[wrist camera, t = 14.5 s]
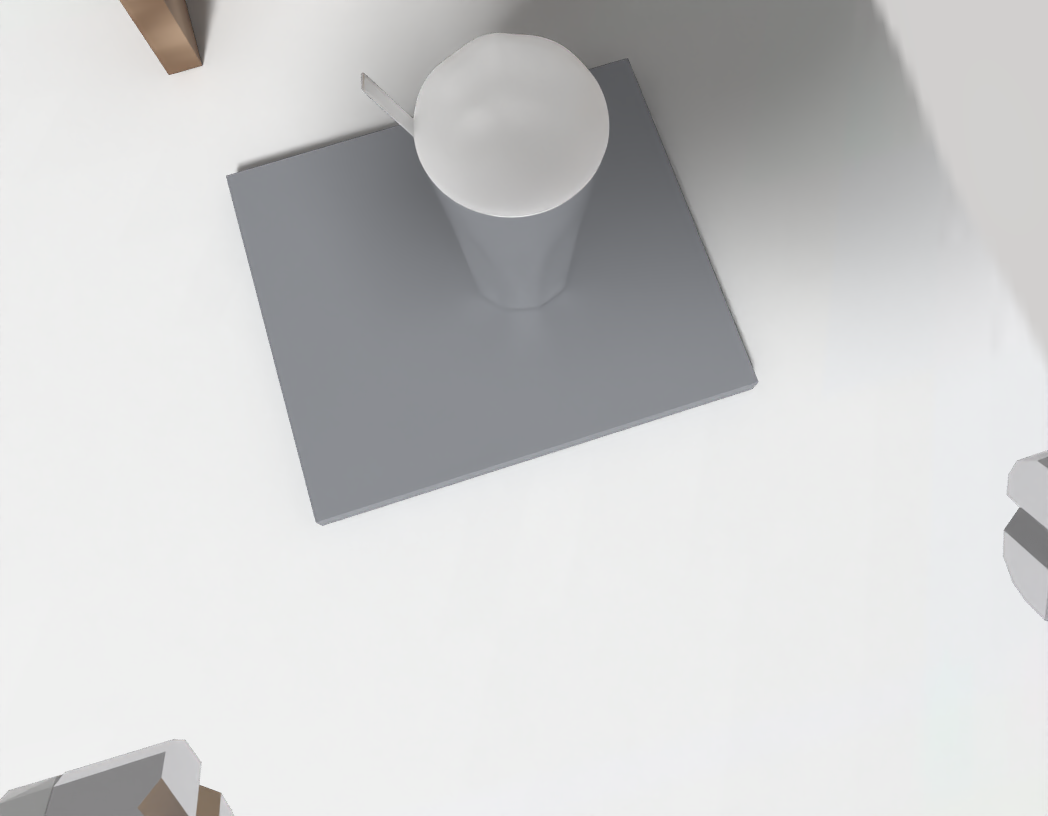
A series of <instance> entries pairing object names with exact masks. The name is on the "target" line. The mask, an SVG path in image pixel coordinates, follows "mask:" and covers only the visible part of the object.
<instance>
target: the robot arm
mask: <svg viewBox="0 0 1048 816" xmlns="http://www.w3.org/2000/svg"><path fill="white" fill-rule="evenodd" d="M1007 496H1008V497H1009V498H1010V499H1011V500H1012V501H1013V502H1014V503H1015V504H1016V505H1017V506H1019V507H1020V508H1019V509H1018V510H1017V512H1016V513H1015V515H1014V516H1013V518H1012V519H1011V521H1010V522H1009V523H1008V525H1007V526H1006V528H1005V529H1004V543H1003V557H1004V560H1005V563H1006V566H1007V568H1008V571H1009V574H1010V577H1011V579H1012V582H1013V584H1014V585H1015V587H1016V588H1017V590H1018V591H1019V592H1020V594H1021V595H1022V597H1023V598H1024V600H1025V601H1026V602H1027V603H1028V604H1029V605H1030V606H1031V607H1032V608H1033V609H1034V610H1035V611H1036V612H1037V613H1038V614H1039V615H1040V616H1041V617H1042V618H1043V619H1044V620H1046V621H1048V450H1047V451H1044V452H1041V453H1038V454H1035V455H1032V456H1029V457H1026V458H1023V459H1020V460H1017V461H1016V463H1015V465H1014V466H1013V468H1012V469H1011V471H1010V473H1009V475H1008V486H1007ZM200 772H201V761H200V760H199V758H198V757H197V756H196V754H195V753H194V751H193V750H192V749H191V747H190V746H189V744H188V743H187V742H186V740H178V739H173V740H170V741H166V742H163V743H160V744H156V745H153V746H150V747H146V748H143V749H140V750H137V751H133V752H130V753H127V754H123V755H120V756H117V757H114V758H110V759H107V760H104V761H100V762H97V763H94V764H90V765H87V766H84V767H81V768H77V769H74V770H71V771H67V772H65V773H64V774H62V775H59V776H55V777H52V778H49V779H45V780H42V781H39V782H35V783H32V784H29V785H25V786H22V787H19V788H15V789H12V790H9V791H8V792H7V793H6V794H5V795H4V796H3V797H2V798H1V799H0V816H234V815H233V812H232V810H231V808H230V806H229V805H228V803H227V802H226V800H225V798H224V797H223V795H222V794H221V793H220V792H217V791H215V790H212V789H209V788H207V787H204V786H201V785H199V781H200Z"/></svg>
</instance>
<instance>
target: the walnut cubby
mask: <svg viewBox="0 0 1048 816" xmlns="http://www.w3.org/2000/svg"><path fill="white" fill-rule="evenodd" d="M120 2H121V3H122V5H123V6H124V8H125V9H126V11H127V12H128V14H129V15H130V17H131V18H132V20H133V21H134V23H135V24H136V26H137V27H138V29H139V30H140V32H141V33H142V35H143V36H144V38H145V40H146V41H147V43H148V44H149V46H150V47H151V49H152V50H153V52H154V53H155V55H156V56H157V58H158V59H159V61H160V62H161V64H162V65H163V67H164V68H165V70H166V71H167V73H168V74H169V75H171V74H174V73H178V72H181V71H185V70H188V69H192V68H195V67H199V66H202V63H201V59H200V55H199V51H198V47H197V43H196V40H195V36H194V32H193V28H192V24H191V20H190V17H189V13H188V9H187V5H186V1H185V0H120Z"/></svg>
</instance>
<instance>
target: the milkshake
mask: <svg viewBox="0 0 1048 816" xmlns="http://www.w3.org/2000/svg"><path fill="white" fill-rule="evenodd" d="M361 87H362V91H363V92H364V93H365V94H366V95H367V96H368V97H369V98H370V99H372V100H373V101H374V102H375V103H376V104H377V105H378V106H379V107H380V108H382V109H383V110H384V111H385V112H386V113H387V114H388V115H389V116H390V117H392V118H393V119H394V120H395V121H396V122H397V123H398V124H399V125H400V126H402V127H403V128H404V129H405V130H406V131H407V132H408V133H409V134H410V135H412V136H413V137H414V142H415V147H416V151H417V154H418V157H419V160H420V162H421V164H422V166H423V168H424V170H425V172H426V174H427V177H428V179H429V181H430V183H431V185H432V187H433V189H434V191H435V194H436V196H437V198H438V200H439V202H440V204H441V206H442V208H443V210H444V212H445V214H446V216H447V218H448V220H449V222H450V224H451V226H452V227H453V230H454V232H455V234H456V237H457V239H458V242H459V245H460V247H461V250H462V252H463V255H464V258H465V260H466V263H467V265H468V268H469V270H470V272H471V275H472V277H473V280H474V283H475V285H476V288H477V290H478V293H479V294H480V295H481V296H483V297H485V298H486V299H488V300H490V301H491V302H493V303H495V304H496V305H498V306H500V307H501V308H503V309H505V310H506V311H508V310H524V309H539V308H540V307H542V306H543V305H544V304H545V303H547V302H548V301H549V300H550V299H552V298H553V297H554V296H556V295H557V294H558V293H560V292H561V291H562V290H563V289H564V287H565V284H566V280H567V276H568V272H569V269H570V265H571V261H572V258H573V254H574V250H575V246H576V242H577V238H578V234H579V230H580V226H581V222H582V218H583V215H584V213H585V210H586V207H587V205H588V202H589V199H590V197H591V194H592V191H593V188H594V184H595V181H596V178H597V175H598V172H599V169H600V166H601V163H602V160H603V157H604V154H605V151H606V148H607V144H608V138H609V115H608V109H607V105H606V101H605V98H604V95H603V92H602V90H601V88H600V86H599V84H598V82H597V81H596V79H595V78H594V76H593V75H592V74H591V72H590V71H589V70H588V69H587V68H586V66H585V65H584V64H583V63H582V62H581V61H580V60H579V59H578V58H577V57H576V56H575V55H574V54H573V53H572V52H570V51H569V50H568V49H567V48H565V47H564V46H562V45H561V44H559V43H557V42H555V41H553V40H550V39H547V38H544V37H540V36H535V35H525V34H508V33H490V34H486V35H482V36H480V37H477V38H475V39H473V40H472V41H470V42H468V43H467V44H466V45H464V46H463V47H461V48H460V49H459V50H457V51H456V52H455V53H454V54H452V55H451V56H449V57H448V58H447V59H445V60H444V61H443V62H441V63H440V64H439V65H438V66H437V67H435V68H434V69H433V71H432V72H431V73H430V74H429V75H428V77H427V78H426V80H425V82H424V83H423V85H422V87H421V90H420V92H419V95H418V98H417V102H416V106H415V111H414V119H413V118H412V117H411V116H410V115H409V114H408V113H407V112H406V111H404V110H403V109H402V108H401V107H400V106H399V105H398V104H397V103H396V102H395V101H394V100H393V99H392V98H391V97H389V96H388V95H387V94H386V93H385V92H384V91H383V90H382V89H381V88H380V87H379V86H378V85H377V84H376V83H374V82H373V81H372V80H371V79H370V78H369V77H368V76H367V75H366V74H365V73H362V74H361Z"/></svg>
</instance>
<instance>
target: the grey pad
mask: <svg viewBox="0 0 1048 816" xmlns="http://www.w3.org/2000/svg"><path fill="white" fill-rule="evenodd" d="M589 71H590V72H591V74H592V75H593V76H594V78H595V79H596V81H597V82H598V84H599V86H600V88H601V90H602V92H603V95H604V98H605V101H606V105H607V109H608V115H609V138H608V144H607V148H606V151H605V154H604V157H603V160H602V163H601V166H600V169H599V172H598V175H597V178H596V181H595V184H594V188H593V191H592V194H591V197H590V199H589V202H588V205H587V207H586V210H585V213H584V215H583V218H582V222H581V226H580V230H579V234H578V238H577V242H576V246H575V250H574V254H573V258H572V261H571V265H570V269H569V272H568V276H567V280H566V284H565V287H564V289H563V290H562V291H561V292H560V293H558V294H557V295H556V296H554V297H553V298H552V299H550V300H549V301H548V302H547V303H545V304H544V305H543V306H542V307H540V308H539V309H524V310H508V311H506V310H505V309H503V308H501V307H500V306H498V305H496V304H495V303H493V302H491V301H490V300H488V299H486V298H485V297H483V296H481V295H480V294H479V293H478V290H477V288H476V285H475V283H474V280H473V277H472V275H471V272H470V270H469V268H468V265H467V263H466V260H465V258H464V255H463V252H462V250H461V247H460V245H459V242H458V239H457V237H456V234H455V232H454V230H453V227H452V226H451V224H450V222H449V220H448V218H447V216H446V214H445V212H444V210H443V208H442V206H441V204H440V202H439V200H438V198H437V196H436V194H435V191H434V189H433V187H432V185H431V183H430V181H429V179H428V177H427V174H426V172H425V170H424V168H423V166H422V164H421V162H420V160H419V157H418V154H417V151H416V147H415V142H414V137H413V136H412V135H410V134H409V133H408V132H407V131H406V130H405V129H404V128H403V127H402V126H400V125H398V126H394V127H391V128H387V129H384V130H381V131H377V132H374V133H370V134H367V135H364V136H360V137H357V138H353V139H350V140H346V141H343V142H340V143H336V144H333V145H329V146H326V147H323V148H319V149H316V150H312V151H309V152H306V153H302V154H299V155H295V156H292V157H288V158H285V159H282V160H278V161H275V162H271V163H268V164H265V165H261V166H258V167H254V168H251V169H247V170H244V171H241V172H237V173H234V174H230V175H227V176H226V178H227V181H228V185H229V189H230V193H231V197H232V201H233V205H234V208H235V212H236V216H237V220H238V224H239V228H240V232H241V235H242V239H243V243H244V247H245V251H246V255H247V259H248V262H249V266H250V270H251V274H252V278H253V282H254V286H255V289H256V293H257V297H258V301H259V305H260V309H261V313H262V316H263V320H264V324H265V328H266V332H267V336H268V340H269V343H270V347H271V351H272V355H273V359H274V363H275V366H276V370H277V374H278V378H279V382H280V386H281V390H282V393H283V397H284V401H285V405H286V409H287V413H288V417H289V420H290V424H291V428H292V432H293V436H294V440H295V444H296V447H297V451H298V455H299V459H300V463H301V467H302V471H303V474H304V478H305V482H306V486H307V490H308V494H309V498H310V501H311V505H312V509H313V513H314V517H315V521H316V523H318V524H320V525H322V526H323V525H326V524H329V523H332V522H335V521H339V520H342V519H345V518H348V517H351V516H354V515H357V514H361V513H364V512H367V511H370V510H373V509H376V508H379V507H383V506H386V505H389V504H392V503H395V502H398V501H401V500H405V499H408V498H411V497H414V496H417V495H420V494H423V493H427V492H430V491H433V490H436V489H439V488H442V487H445V486H449V485H452V484H455V483H458V482H461V481H464V480H468V479H471V478H474V477H477V476H480V475H483V474H486V473H490V472H493V471H496V470H499V469H502V468H505V467H508V466H512V465H515V464H518V463H521V462H524V461H527V460H530V459H534V458H537V457H540V456H543V455H546V454H549V453H552V452H556V451H559V450H562V449H565V448H568V447H571V446H574V445H578V444H581V443H584V442H587V441H590V440H593V439H596V438H600V437H603V436H606V435H609V434H612V433H615V432H618V431H622V430H625V429H628V428H631V427H634V426H637V425H640V424H644V423H647V422H650V421H653V420H656V419H659V418H662V417H666V416H669V415H672V414H675V413H678V412H681V411H685V410H688V409H691V408H694V407H697V406H700V405H703V404H707V403H710V402H713V401H716V400H719V399H722V398H725V397H729V396H732V395H735V394H738V393H741V392H744V391H747V390H751V389H753V388H754V386H755V385H756V384H757V383H758V380H757V377H756V375H755V372H754V370H753V367H752V365H751V362H750V360H749V357H748V355H747V353H746V350H745V348H744V345H743V343H742V340H741V338H740V335H739V333H738V330H737V328H736V325H735V323H734V320H733V318H732V315H731V313H730V310H729V308H728V305H727V303H726V300H725V298H724V295H723V293H722V291H721V288H720V286H719V283H718V281H717V278H716V276H715V273H714V271H713V268H712V266H711V263H710V261H709V258H708V256H707V253H706V251H705V248H704V246H703V243H702V241H701V238H700V236H699V234H698V231H697V229H696V226H695V224H694V221H693V219H692V216H691V214H690V211H689V209H688V206H687V204H686V201H685V199H684V196H683V194H682V191H681V189H680V186H679V184H678V181H677V179H676V177H675V174H674V172H673V169H672V167H671V164H670V162H669V159H668V157H667V154H666V152H665V149H664V147H663V144H662V142H661V139H660V137H659V134H658V132H657V129H656V127H655V124H654V122H653V119H652V117H651V115H650V112H649V110H648V107H647V105H646V102H645V100H644V97H643V95H642V92H641V90H640V87H639V85H638V82H637V80H636V77H635V75H634V72H633V70H632V67H631V65H630V62H629V60H628V58H626V59H623V60H619V61H616V62H613V63H609V64H606V65H602V66H599V67H596V68H592V69H589Z"/></svg>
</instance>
